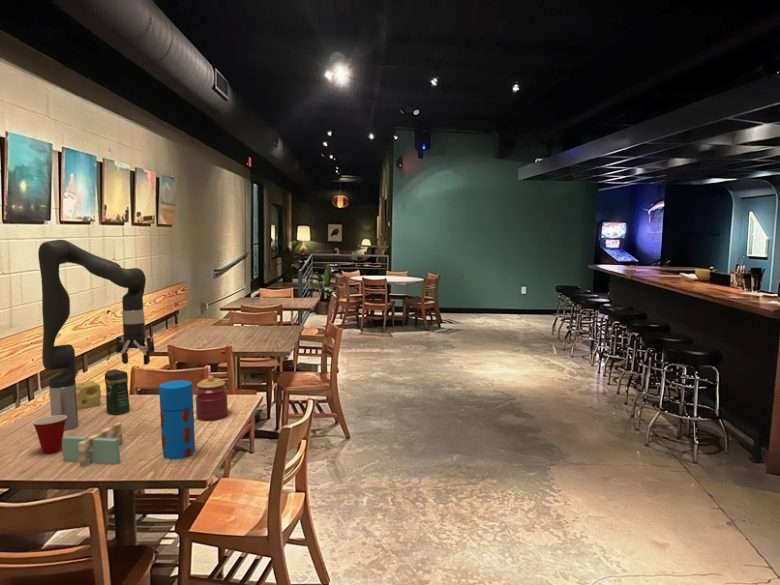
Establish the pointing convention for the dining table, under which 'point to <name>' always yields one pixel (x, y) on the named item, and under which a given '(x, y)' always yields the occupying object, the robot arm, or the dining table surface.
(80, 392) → the cheese
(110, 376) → the coffee jar
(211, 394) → the canister
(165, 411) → the thermos
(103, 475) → the dining table surface
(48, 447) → the plastic cup
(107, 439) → the sage green notched block
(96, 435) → the brass bar
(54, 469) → the dining table surface
